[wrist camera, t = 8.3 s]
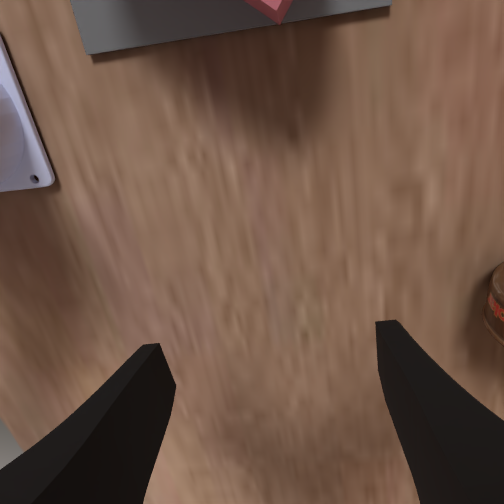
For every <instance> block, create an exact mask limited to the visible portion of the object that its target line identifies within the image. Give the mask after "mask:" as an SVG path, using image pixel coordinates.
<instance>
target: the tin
mask: <svg viewBox="0 0 504 504" xmlns="http://www.w3.org/2000/svg"><path fill="white" fill-rule="evenodd" d="M482 317H483V321H484V324H485V326H486V328H487V329H488V331H489V332H490V333H491V335H492V336H493V337H494V338H495V339H496V340H497V341H498V342H499V343H500V344H502V345H503V346H504V262H503V263H502V264H500V265H499V266H498V267H497V268H496V269H495V270H494V272H493V274H492V277H491V280H490V284H489V289H488V294H487V300H486V303H485V305H484V307H483V310H482Z"/></svg>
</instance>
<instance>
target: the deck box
mask: <svg viewBox="0 0 504 504" xmlns="http://www.w3.org/2000/svg"><path fill="white" fill-rule="evenodd" d="M244 1H245V2H247V3H248V4H249V5H251V6H252V7H254V8H255V9H257V10H258V11H260V12H261V13H263V14H264V15H266V16H267V17H269V18H270V19H271V20H273V21H274V22H276V23H277V24H279V25H280V24H281V22H282V20H283V18H284V16H285V15H286V13H287V11H288V9H289V7H290V5H291V3H292V1H293V0H244Z"/></svg>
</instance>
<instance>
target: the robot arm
mask: <svg viewBox="0 0 504 504" xmlns="http://www.w3.org/2000/svg"><path fill="white" fill-rule="evenodd" d="M34 175H36V176H37V177H38V178H39V182H38V181H37V180H36V179H35V178H34ZM54 181H55V176H54V173H53V171H52V168H51V165H50V163H49V160H48V158H47V155H46V152H45V150H44V147H43V145H42V142H41V139H40V137H39V134H38V132H37V129H36V126H35V124H34V121H33V119H32V116H31V113H30V111H29V108H28V106H27V103H26V100H25V98H24V95H23V93H22V90H21V87H20V85H19V82H18V80H17V77H16V74H15V72H14V69H13V67H12V64H11V61H10V59H9V56H8V54H7V51H6V48H5V46H4V43H3V41H2V38H1V35H0V192H5V191H13V190H22V189H31V188H40V187H47V186H50V185H52V184H53V183H54ZM375 324H376V342H377V360H378V372H379V376H380V380H381V385H382V389H383V393H384V397H385V401H386V404H387V407H388V409H389V412H390V415H391V418H392V421H393V423H394V426H395V429H396V432H397V434H398V437H399V440H400V443H401V446H402V448H403V451H404V454H405V457H406V459H407V462H408V465H409V468H410V470H411V473H412V476H413V480H414V483H415V486H416V489H417V493H418V497H419V500H420V504H504V421H503V420H502V419H501V418H499V417H498V416H497V415H495V414H494V413H493V412H492V411H490V410H489V409H488V408H486V407H485V406H484V405H483V404H481V403H480V402H479V401H478V400H476V399H475V398H474V397H473V396H472V395H471V394H469V393H468V392H467V391H466V390H465V389H464V388H462V387H461V386H460V385H459V384H458V383H457V382H456V381H455V380H453V379H452V378H451V377H450V376H449V375H448V374H447V373H446V372H445V371H444V370H443V369H442V368H441V367H440V366H439V365H438V364H437V363H436V362H435V361H434V360H433V359H432V358H431V357H430V356H429V355H428V354H427V353H426V352H425V351H424V350H423V349H422V348H421V347H420V346H419V345H418V344H417V342H416V341H415V340H414V339H413V338H412V337H411V336H410V335H409V333H408V332H407V331H406V330H405V329H404V328H403V326H402V325H401V324H400V323H399V322H398V321H397V320H388V321H378V322H375ZM175 390H176V384H175V381H174V379H173V376H172V374H171V371H170V369H169V366H168V364H167V361H166V359H165V356H164V353H163V351H162V348H161V346H160V343H155V344H145V345H142V346H141V347H140V348H139V349H138V350H137V351H136V352H135V353H134V354H133V355H132V356H131V357H130V358H129V359H128V360H127V361H126V362H125V363H124V364H123V365H122V366H121V367H120V368H119V369H118V370H117V371H116V372H115V373H114V374H113V375H112V376H111V377H110V378H109V379H108V380H107V381H106V382H105V383H104V384H103V385H102V386H101V387H100V388H99V389H98V390H97V391H96V392H95V393H94V394H93V395H92V396H91V397H90V398H89V399H88V400H86V401H85V402H84V403H83V404H82V405H81V406H80V407H79V408H78V409H77V410H76V411H75V412H74V413H73V414H71V415H70V416H69V417H68V418H67V419H66V420H65V421H63V422H62V423H61V424H60V425H59V426H58V427H56V428H55V429H54V430H53V431H51V432H50V433H49V434H48V435H47V436H45V437H44V438H43V439H42V440H40V441H39V442H38V443H36V444H35V445H34V446H32V447H31V448H30V449H28V450H27V451H26V452H24V453H23V454H21V455H20V456H19V457H17V458H16V459H15V460H13V461H12V462H11V463H9V464H8V465H6V466H5V467H3V468H2V469H1V470H0V504H143V501H144V497H145V493H146V490H147V486H148V483H149V480H150V477H151V474H152V471H153V468H154V465H155V462H156V459H157V456H158V453H159V450H160V447H161V444H162V441H163V438H164V435H165V431H166V428H167V425H168V422H169V419H170V416H171V411H172V407H173V402H174V396H175Z"/></svg>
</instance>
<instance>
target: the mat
mask: <svg viewBox="0 0 504 504" xmlns="http://www.w3.org/2000/svg"><path fill="white" fill-rule="evenodd" d="M70 2H71V5H72V9H73V12H74V15H75V19H76V22H77V25H78V29H79V32H80V35H81V39H82V42H83V45H84V49H85V52H86V55H92V54H98V53H104V52H110V51H116V50H123V49H129V48H135V47H141V46H147V45H153V44H159V43H165V42H172V41H178V40H184V39H190V38H196V37H202V36H208V35H214V34H221V33H227V32H233V31H239V30H245V29H251V28H257V27H263V26H270V25H276V24H277V23H276V22H274V21H273V20H271V19H270V18H269V17H267V16H266V15H264V14H263V13H261V12H260V11H258V10H257V9H255V8H254V7H252V6H251V5H249V4H248V3H247V2H245V1H244V0H70ZM390 5H392V0H293V1H292V3H291V5H290V7H289V9H288V11H287V13H286V15H285V16H284V18H283V20H282V22H281V24H282V23H288V22H294V21H300V20H306V19H312V18H319V17H325V16H331V15H337V14H343V13H349V12H355V11H361V10H367V9H374V8H380V7H386V6H390Z"/></svg>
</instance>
